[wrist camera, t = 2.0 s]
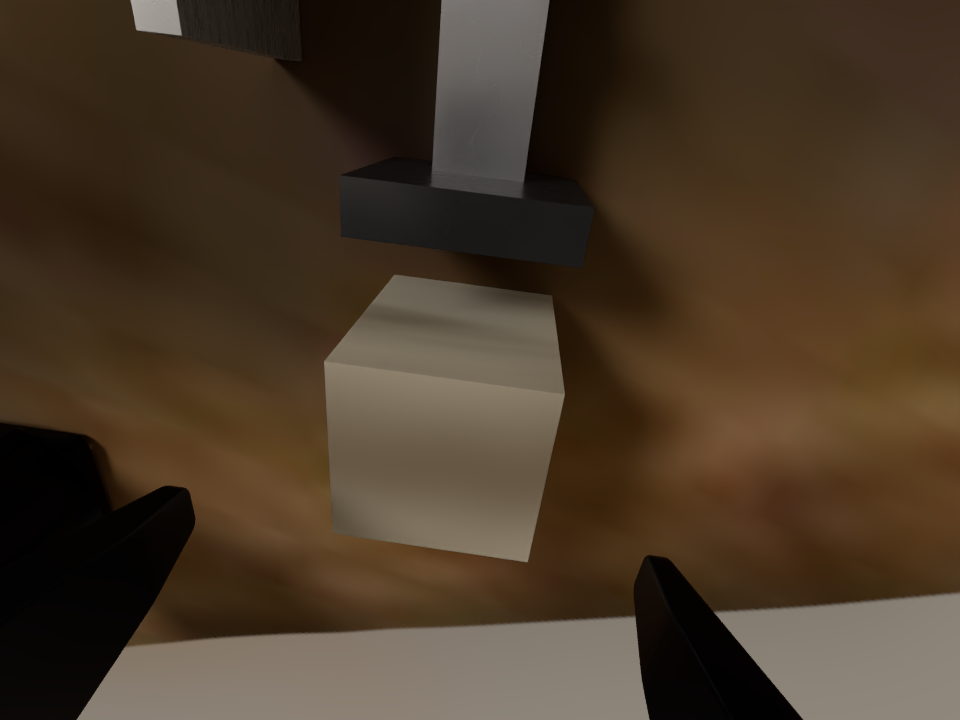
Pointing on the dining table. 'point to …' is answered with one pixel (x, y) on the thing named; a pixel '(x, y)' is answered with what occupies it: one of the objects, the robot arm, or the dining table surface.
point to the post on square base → (476, 153)
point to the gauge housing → (227, 24)
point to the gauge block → (444, 417)
